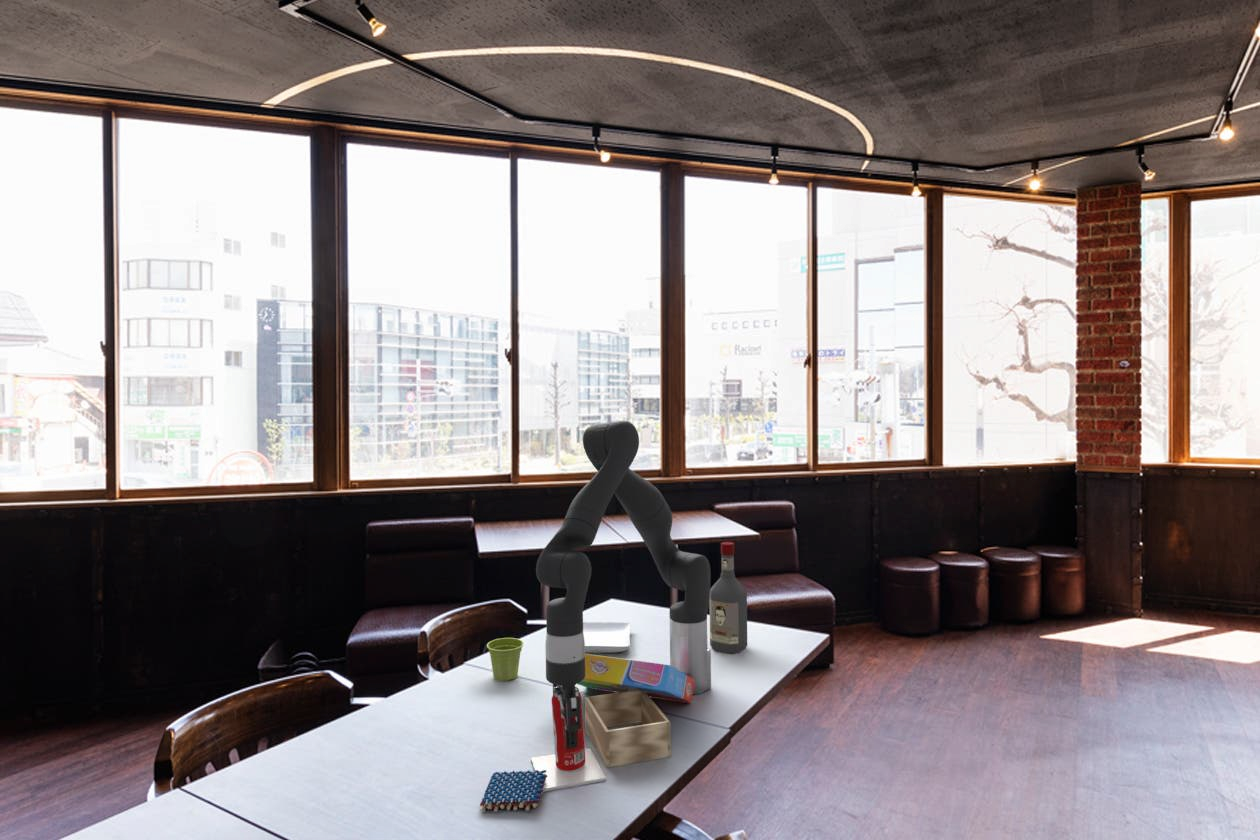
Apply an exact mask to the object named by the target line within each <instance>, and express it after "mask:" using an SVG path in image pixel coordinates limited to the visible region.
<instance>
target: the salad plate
mask: <svg viewBox="0 0 1260 840" xmlns="http://www.w3.org/2000/svg"><path fill="white" fill-rule="evenodd" d="M631 627H632V624H631V623H630V622H621V621H620V622H612V621H611V622H610V621H609V622H608V621H601V622H599V621H588V622H587V621H583V634H584V641H585V654H604V653H605V654H606V653H607V654H609V653H611V654H612V653H613V654H614V653H621V652H624V651H627V650H628V649H629V648H630V646H631Z"/></svg>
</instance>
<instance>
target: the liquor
mask: <svg viewBox="0 0 1260 840" xmlns="http://www.w3.org/2000/svg"><path fill="white" fill-rule="evenodd" d="M720 554H721V573H720V577H719V578H718V579H717V581H716V582H714V584H713V585H712V586H711V587H710V602H709V645H710V647H711V649H712V650H713V651H714V652H718V653H723V654H725V655H726V654H727V655H737V654H740V653H741V652H743V651H744V650H746V648H747V647H748V593H747V590H746V588H745V587H744V585H742V583H741V582H740V581H739V580H738V579H737V578H736V574H735V563H734V562H735V561H734V560H735V558H734V557H735V556H734V555H735V543H734V542H730V541H726V542H725V541H723V542H721V543H720Z"/></svg>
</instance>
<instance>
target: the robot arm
mask: <svg viewBox="0 0 1260 840" xmlns="http://www.w3.org/2000/svg"><path fill="white" fill-rule="evenodd" d="M582 445H583V450H584V452H585V455H586V456H587V458H588V460H589V461H590V463H591V464H592V466H593V467H594V468H595V470H596V471H597V472H596V473H595V475H594V476H593V477H592V478H591V479H590V480H589V481H588V482H586V484H585V485H584V486H583V487H582V488H581V489H580V490H579V492H578V493H577V494H576V495H575V497H574V498H573V499H572V502H571V503H570V505H569V507H568V509H567V512H566V514H565V517H564V520H563V522H562V524H561V527H560V528H559V529H558V531H556V532H555V534H554V536H552V538H551V539H550V541H549V542H548V543H547V544H546V546H544V548H543V549H542V551H541V553H540V555H539V556H538V558H537V561H536V566H535V574H536V578H537V580H538V581H539V583H540V584H542V585H543V586H546V587H550V588H559V589H566V595H565V597H558V598H554V599H552V600H550V601H548V603H547V605H546V608H545V609H546V610H545V611H546V613H545V617H546V621H545V623H546V635H545V646H544V647H545V648H544V649H545V678H546V681H547V682H548V683H550V684H552V692H553V691H554V690H555V692H557V697H558V701H559V702H560V714H561V717H562V718H564V724H565V725H564V727H565V746H566V748H567V749H574V748H577V747H578V729H581V708H580V701H581V699H582V698H581V699H580V696H578V690H575V687H576V685H578V684H577V683H579V682H581V681H582V680H583V679H584V678H585V654H586V653H585V641H584V634H583V622H584V606H585V602H586V598H587V592H588V589H589V586H590V585H589V584H590V580H591V577H592V570H593V569H592V564H591V561H590V559H589V557H588V555H586V554H585V553H584V552H581V551H577V550H582V549H587V548H589V547H591V546H592V544H594V541H595V539H596V537H597V534H598V530H599V528H600V526H601V522H602V520H603V517H604V515H605V512H606V510H607V508H608V506H609V503H610V501H611V500H612V498H613V496H614V495H615V497H616V498H617V500H618V502H619V503H620V504H621V506H622V507H623V509H624V511H625V512H626V514H627V517H629V518H628V519H629V520H630V521H631V523H632V524H633V526H634V528H635V529H636V530H637V532H638V534H639V535H640V536H641V538H642V540H643V542H644V544H645V545H646V547H647V549H648V550H649V552H650V554H651V557H652V559H653V561H654V563H655V565H656V567H657V570H658V573H659V574H660V576H661V578H662V580H663V582H664V583H665V584H666V585H667V586H668V587H670V588H673V589H675V590H679V591H684V593H685V594H684V601H678V602H676V603H673V604H671V606H670V607H669V661H670V662H669V663H670V664H669V665H670V666H672V667H673V668H675V669H677V670H678V671H680V672H682V673H684V674H685V675H687V676H689V677H690V678H692V679H694V687H693V694H692V695H698V694H702V693H704V692H707V691H708V690H711V689H712V664H711V663H712V662H711V661H712V656H711V655H712V653H711V650H710V649H709V648H708V611H709V608H710V604H709V602H710V589H711V566H710V562H709V559H708V558H707V557H706V556H705V555H704V554H703V555H702V554H698V553H692V552H688V551H687V552H686V551H682V550H680V549H679V548H678V547H677V546H676V544H675V542H674V541H673V539H672V537H671V532H672V528H673V527H672V526H673V514H672V511H671V508H670V506H669V504H668V503H667V501H666V499H665V497H664V496H663V494H662V493H661V491H660V490H659V489H658V488H657V487H656V486H655V485H654V484H652V483H651V482H650V481H648V480H646V479H645V478H644V477H642V476H640V475H639V474H638V473H636V472H635V471H633V470H632V469H631V468H630V467H631V466H632V464H633V462H634V460H635V458H636V455H638V450H639V448H640V436H639V432H638V430H637V428H636V426H635V425H634V424H633V423H632V422H630V421H629V420H615V421H607V422H600V423H599V422H598V423H595V424H592V425H589V426H588V427H586V428H585V430H584V432H583V435H582ZM562 698H563V700H562ZM563 705H564V707H566V711H564V708H563ZM572 717H574V721H575V722H570V719H571V718H572Z"/></svg>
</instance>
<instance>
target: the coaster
mask: <svg viewBox="0 0 1260 840" xmlns="http://www.w3.org/2000/svg"><path fill="white" fill-rule="evenodd" d="M530 762H531V764H532V767H533V771H536V770H538V771H540V770H541V771H543V770H546V773H544V774H546V775H547V777H546V781H545V784H544V786H543V788H542V789H543V792H549V791H554V790H561V789H566V788H571V787H576V786H582V785H587V784H593V783H597V782H598V783H599V782H604V781H606V779H607V778H606V776H605V774H604V772H603V770H602V768H601V766H600V765H599V763H598V761H597V759H596V757H595V755H594V754H593V751H592V750H591V748H585V764H584V766H583V767H582V768H581V769H579V770H577V771H574V772H563V771H561V770H559V769H558V768H557V766H556V760H555V753H554V754H553V753H552V754H548V755H547V754H546V755H541V756H533V757H530ZM542 774H543V773H542ZM543 792H542V793H543Z"/></svg>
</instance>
